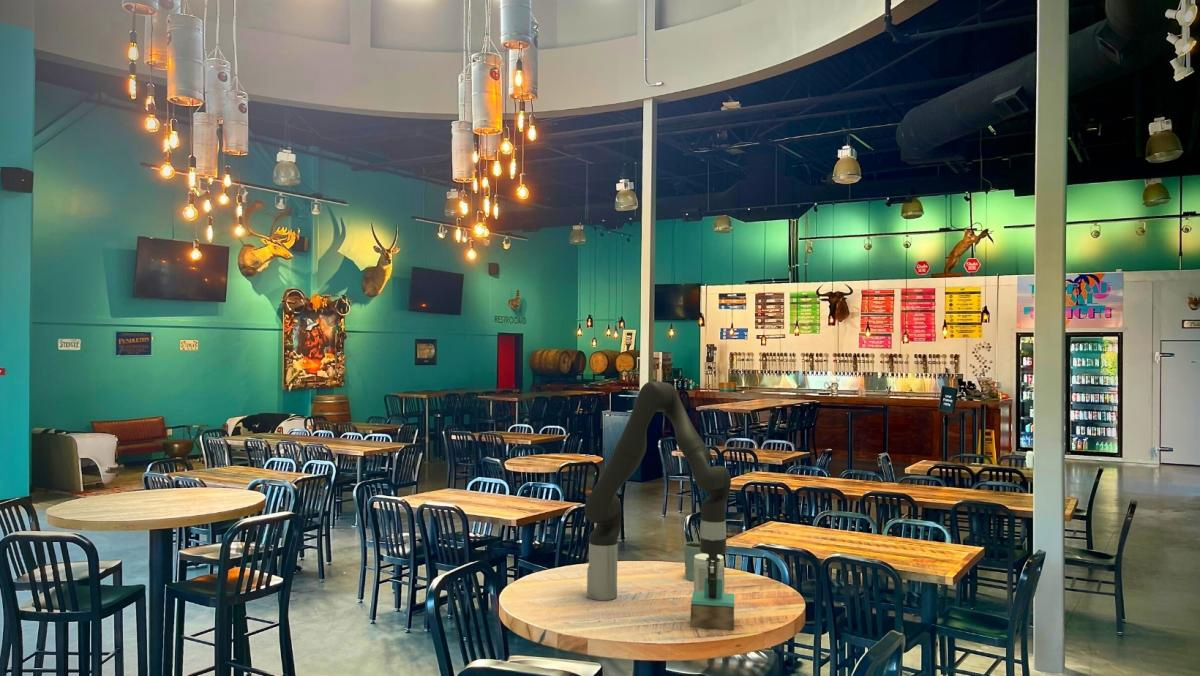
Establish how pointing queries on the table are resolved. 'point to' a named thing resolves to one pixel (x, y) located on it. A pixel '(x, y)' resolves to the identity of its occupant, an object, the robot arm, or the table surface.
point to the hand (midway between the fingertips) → (712, 595)
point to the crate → (712, 617)
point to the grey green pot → (690, 558)
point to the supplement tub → (705, 571)
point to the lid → (720, 599)
